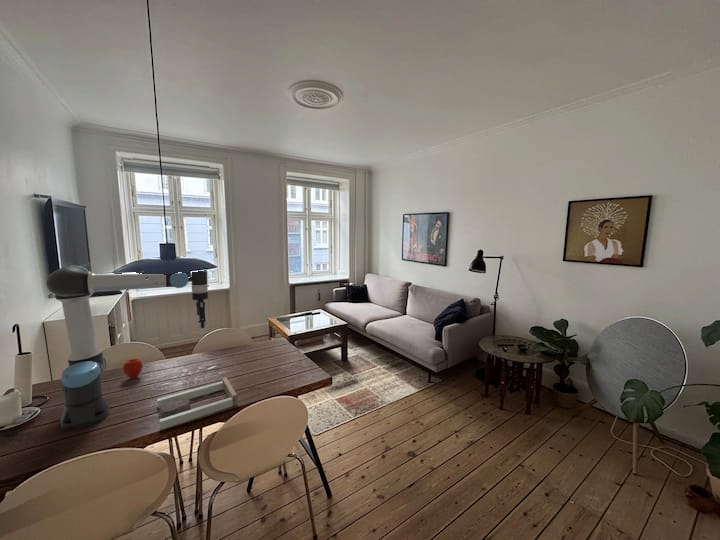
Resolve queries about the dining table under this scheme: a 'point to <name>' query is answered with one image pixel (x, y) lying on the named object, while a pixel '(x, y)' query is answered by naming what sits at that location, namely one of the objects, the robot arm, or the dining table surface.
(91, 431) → the dining table surface
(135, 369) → the apple
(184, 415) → the grey u-shaped frame
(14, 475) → the dining table surface
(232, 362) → the dining table surface
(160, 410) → the stone
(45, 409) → the dining table surface
